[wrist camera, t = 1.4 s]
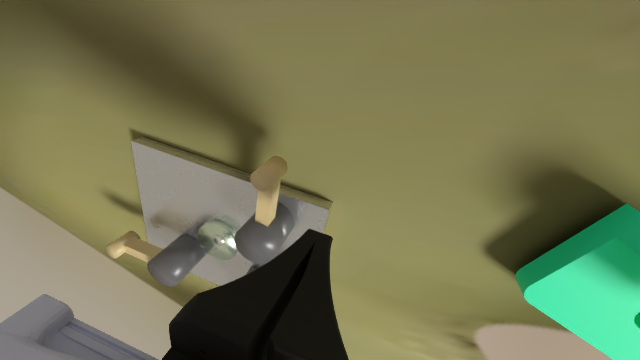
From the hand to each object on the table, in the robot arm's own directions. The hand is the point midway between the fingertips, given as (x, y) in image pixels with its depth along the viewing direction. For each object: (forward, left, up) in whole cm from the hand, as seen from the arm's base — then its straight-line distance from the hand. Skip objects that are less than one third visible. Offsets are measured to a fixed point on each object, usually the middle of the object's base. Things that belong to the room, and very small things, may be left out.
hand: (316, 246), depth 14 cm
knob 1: (-12, +15, -6) cm, 20 cm away
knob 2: (-2, +4, -6) cm, 7 cm away
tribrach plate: (-9, +9, -7) cm, 15 cm away
